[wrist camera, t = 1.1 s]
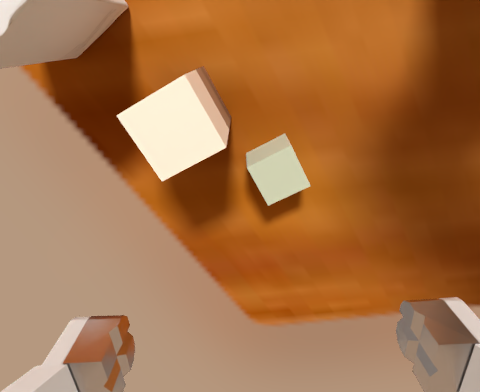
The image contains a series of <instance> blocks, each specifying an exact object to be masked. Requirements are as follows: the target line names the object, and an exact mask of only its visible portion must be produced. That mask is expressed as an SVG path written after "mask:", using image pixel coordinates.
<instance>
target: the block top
mask: <svg viewBox="0 0 480 392" xmlns="http://www.w3.org/2000/svg"><path fill="white" fill-rule="evenodd" d="M116 116H117V117H118V119H119V120H120V122H121V123H122V125H123V126H124V128H125V129H126V130H127V132H128V133H129V135H130V136H131V138H132V139H133V141H134V142H135V143H136V145H137V146H138V148H139V149H140V151H141V152H142V153H143V155H144V156H145V158H146V159H147V161H148V162H149V164H150V165H151V166H152V168H153V169H154V171H155V172H156V174H157V175H158V177H159V178H160V179H161V181H164V180H166V179H168V178H170V177H172V176H173V175H175V174H177V173H179V172H181V171H183V170H185V169H187V168H189V167H191V166H192V165H194V164H196V163H198V162H200V161H202V160H204V159H206V158H208V157H209V156H211V155H213V154H215V153H217V152H219V151H221V150H223V149H225V148H226V147H227V140H228V134H229V128H228V126H227V125H226V123H225V121H224V119H223V117H222V116H221V114H220V112H219V110H218V108H217V107H216V105H215V103H214V101H213V99H212V98H211V96H210V94H209V92H208V90H207V89H206V87H205V85H204V83H203V81H202V80H201V78H200V76H199V74H198V72H197V71H196V70H194V71H191V72H189V73H187V74H185V75H183V76H181V77H180V78H178V79H176V80H175V81H173V82H171V83H170V84H168V85H166V86H165V87H163V88H161V89H160V90H158V91H156V92H155V93H153V94H151V95H150V96H148V97H146V98H145V99H143V100H141V101H140V102H138V103H136V104H135V105H133V106H131V107H130V108H128V109H126V110H125V111H123V112H121V113H120V114H118V115H116Z"/></svg>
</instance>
